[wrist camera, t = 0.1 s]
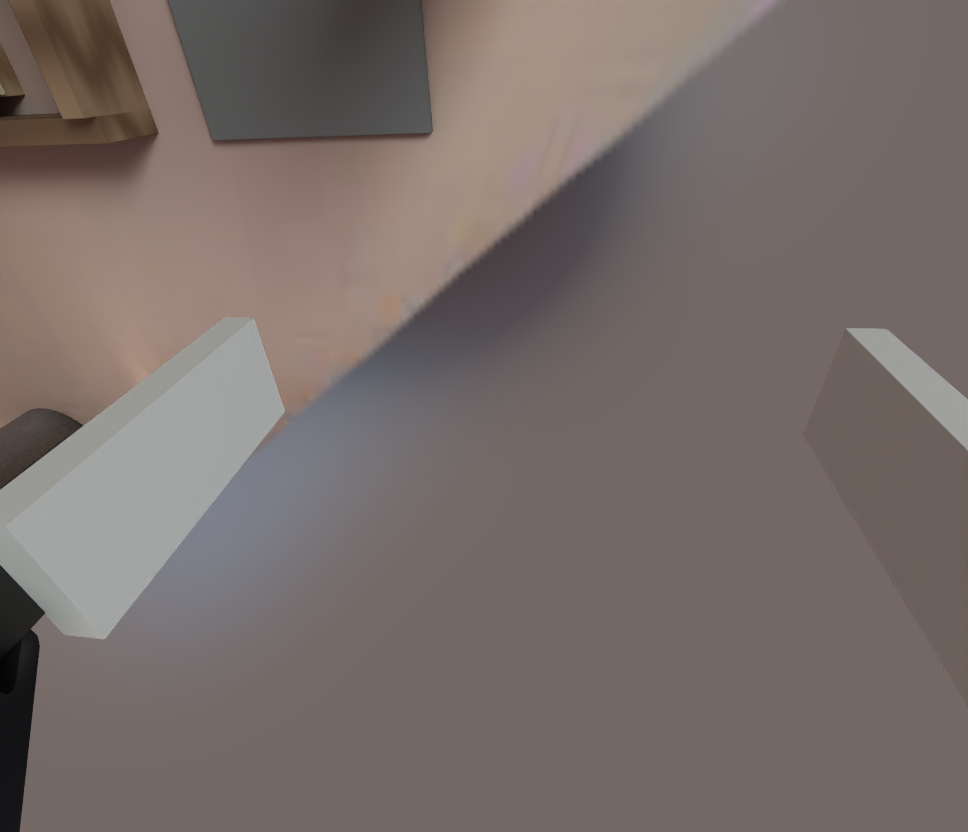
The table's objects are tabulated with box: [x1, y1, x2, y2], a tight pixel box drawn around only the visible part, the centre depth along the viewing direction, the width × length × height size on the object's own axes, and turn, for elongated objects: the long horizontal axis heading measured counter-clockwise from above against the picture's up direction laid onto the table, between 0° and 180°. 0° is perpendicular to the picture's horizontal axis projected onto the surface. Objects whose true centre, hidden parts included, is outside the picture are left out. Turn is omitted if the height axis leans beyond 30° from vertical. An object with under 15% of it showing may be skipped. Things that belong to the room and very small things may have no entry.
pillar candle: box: [0, 409, 83, 487], centre depth 52 cm, size 10×10×15 cm
